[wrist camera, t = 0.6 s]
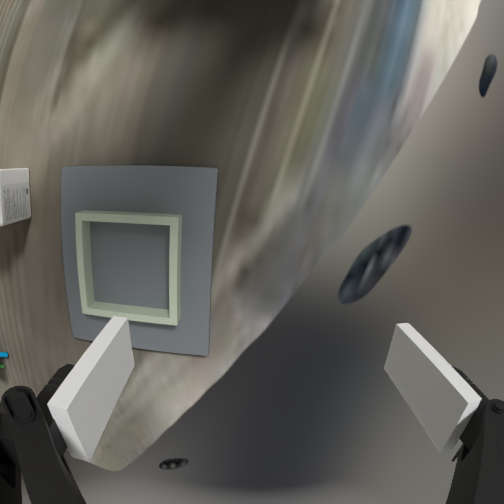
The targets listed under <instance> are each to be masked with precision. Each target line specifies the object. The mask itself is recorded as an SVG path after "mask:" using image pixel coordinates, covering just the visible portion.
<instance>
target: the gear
mask: <svg viewBox="0 0 504 504" xmlns="http://www.w3.org/2000/svg"><path fill="white" fill-rule="evenodd" d="M0 357H8V353H7V352H0ZM0 368H4V365H1V364H0Z"/></svg>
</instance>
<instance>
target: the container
mask: <svg viewBox="0 0 504 504" xmlns="http://www.w3.org/2000/svg"><path fill="white" fill-rule="evenodd" d="M28 218H31V204H30V186H29V169H28V168H17V169H0V226H5V225H8V224H11V223H15V222H18V221H22V220H25V219H28Z"/></svg>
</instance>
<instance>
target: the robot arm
mask: <svg viewBox="0 0 504 504" xmlns="http://www.w3.org/2000/svg"><path fill="white" fill-rule="evenodd" d="M133 367H134V359H133V352H132V345H131V338H130V331H129V322H128V318H127V317H117V316H113V317H112V318H111V320H110V321H109V322H108V323H107V325H106V326H105V327H104V329H103V330H102V331H101V332H100V334H99V335H98V336H97V337H96V339H95V340H94V341H93V343H92V344H91V345H90V346H89V348H88V349H87V350H86V352H85V353H84V354H83V356H82V357H81V358H80V360H79V361H78V362H77V364H76V365H71V364H66V365H65V366H63V367H62V368H60V369H58V371H57V372H56V373H55V374H54V376H53V377H52V379H50V381H49V382H48V385H46V386H45V387H44V389H43V390H42V391H41V392H40V394H39V395H38V396H37V398H36V396H35V394H34V392H33V390H32V389H30V388H29V387H26V386H15V387H12V388H10V389H8V390H7V391H5V393H4V394H3V396H2V400H1V402H2V404H3V406H4V408H5V410H6V412H7V413H0V504H22V492H21V472H22V475H23V478H24V482H25V486H26V489H27V492H28V495H29V498H30V501H31V504H86V502H85V500H84V498H83V496H82V494H81V492H80V490H79V488H78V486H77V484H76V482H75V480H74V477H73V475H72V473H71V471H70V468H69V466H68V464H67V461H66V459H65V457H64V455H63V454H64V452H65V451H66V449H68V450H69V452H70V454H71V456H72V457H74V458H77V459H80V460H84V461H87V462H90V461H91V458H92V456H93V454H94V452H95V449H96V447H97V445H98V442H99V440H100V438H101V436H102V433H103V431H104V429H105V427H106V424H107V422H108V420H109V418H110V416H111V414H112V411H113V409H114V407H115V405H116V403H117V401H118V398H119V396H120V394H121V392H122V390H123V388H124V386H125V384H126V382H127V380H128V378H129V375H130V373H131V371H132V369H133ZM384 369H385V371H386V372H387V373H388V375H389V377H390V378H391V380H392V381H393V382H394V384H395V385H396V387H397V388H398V390H399V391H400V393H401V394H402V396H403V397H404V399H405V400H406V402H407V403H408V405H409V406H410V408H411V409H412V411H413V413H414V414H415V415H416V417H417V419H418V420H419V422H420V423H421V425H422V426H423V428H424V430H425V431H426V433H427V434H428V436H429V437H430V439H431V441H432V442H433V444H434V445H435V447H436V449H437V450H438V452H439V453H441V452H444V451H447V450H450V449H453V448H454V446H455V445H456V443H457V442H458V440H459V438H460V440H461V441H462V442H463V444H462V446H461V447H460V449H459V450H458V452H457V453H456V455H455V456H454V458H453V459H452V461H455V459H456V458H457V457H458V459H457V463H456V468H455V472H454V476H453V480H452V484H451V488H450V491H449V495H448V498H447V501H446V504H504V401H501V400H499V399H492V400H489V399H488V398H487V397H486V396H485V395H484V394H483V393H482V392H481V391H480V390H479V389H478V388H477V387H476V385H475V384H473V383H472V381H471V380H470V379H468V377H467V376H466V375H465V374H464V373H463V372H462V371H460V370H459V369H457V368H455V367H454V366H451V365H449V364H448V362H447V361H446V360H445V359H444V358H443V357H442V356H441V355H440V354H439V353H438V352H437V351H436V350H435V349H434V348H433V347H432V346H431V345H430V344H429V343H428V342H427V341H426V340H425V339H424V338H423V337H422V336H421V335H420V334H419V333H418V332H417V331H416V330H415V329H414V328H413V327H412V326H411V325H410V324H409V323H402V324H396V327H395V331H394V335H393V338H392V342H391V346H390V349H389V353H388V356H387V360H386V363H385V366H384Z"/></svg>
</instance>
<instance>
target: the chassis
mask: <svg viewBox="0 0 504 504" xmlns="http://www.w3.org/2000/svg"><path fill="white" fill-rule="evenodd" d="M218 169H219V168H206V167H184V166H148V165H102V166H67V167H62V172H61V234H62V252H63V265H64V276H65V285H66V294H67V301H68V308H69V315H70V321H71V327H72V333H73V337H74V338H79V339H84V340H90V341H94V340H95V339H96V337H97V336H98V335H99V334H100V332H101V331H102V330H103V329H104V327H105V326H106V325H107V323H108V322H109V321H110V320H111V318H112V317H113V316H117V317H127V318H128V322H129V331H130V338H131V345H132V348H139V349H147V350H154V351H163V352H171V353H181V354H191V355H202V356H209V341H210V309H211V284H212V262H213V243H214V226H215V210H216V196H217V182H218Z"/></svg>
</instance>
